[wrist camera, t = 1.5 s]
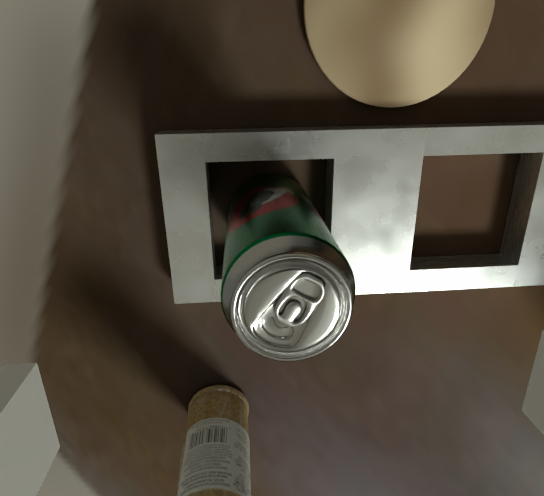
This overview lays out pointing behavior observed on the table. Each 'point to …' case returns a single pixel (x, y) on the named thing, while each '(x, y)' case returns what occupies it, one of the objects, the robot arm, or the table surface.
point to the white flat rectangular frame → (359, 201)
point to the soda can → (283, 272)
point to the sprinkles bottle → (216, 445)
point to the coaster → (395, 45)
